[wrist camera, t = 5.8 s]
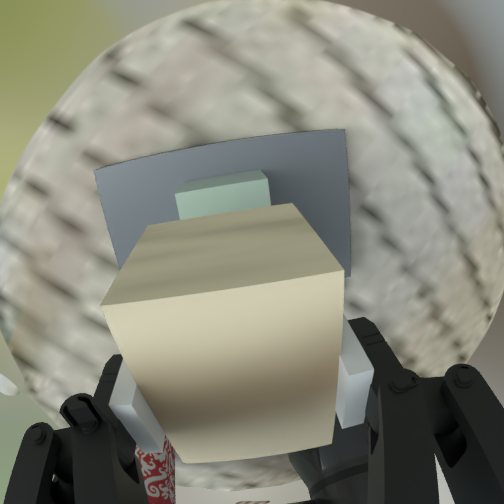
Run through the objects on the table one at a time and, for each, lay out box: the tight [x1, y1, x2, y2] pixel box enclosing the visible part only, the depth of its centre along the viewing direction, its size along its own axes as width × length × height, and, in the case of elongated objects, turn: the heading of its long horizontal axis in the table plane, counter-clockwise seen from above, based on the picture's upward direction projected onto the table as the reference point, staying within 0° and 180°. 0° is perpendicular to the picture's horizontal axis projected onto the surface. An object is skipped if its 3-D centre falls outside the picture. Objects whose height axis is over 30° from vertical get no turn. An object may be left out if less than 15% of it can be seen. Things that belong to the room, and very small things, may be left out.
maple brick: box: [100, 203, 344, 463], centre depth 12 cm, size 8×6×6 cm
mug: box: [135, 435, 176, 504], centre depth 31 cm, size 13×9×14 cm
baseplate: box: [94, 129, 351, 278], centre depth 24 cm, size 13×20×6 cm, turn 98°
